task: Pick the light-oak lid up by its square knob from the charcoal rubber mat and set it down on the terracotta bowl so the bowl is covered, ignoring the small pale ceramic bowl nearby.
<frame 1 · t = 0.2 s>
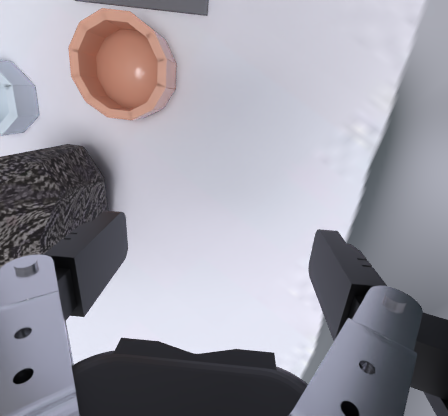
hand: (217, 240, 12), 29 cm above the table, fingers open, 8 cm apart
small bowl: (5, 97, 38), on the table
decorative stone: (87, 211, 44), on the table
bowl: (133, 71, 36), on the table
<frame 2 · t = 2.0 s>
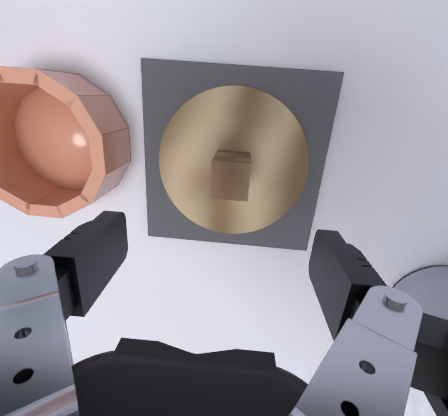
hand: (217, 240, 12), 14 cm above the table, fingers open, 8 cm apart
lid: (232, 165, 25), resting on mat
bowl: (70, 139, 25), on the table
mat: (233, 164, 25), on the table
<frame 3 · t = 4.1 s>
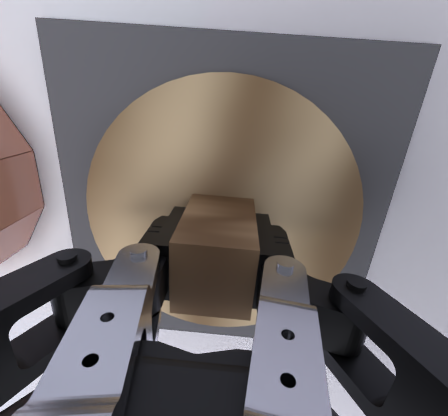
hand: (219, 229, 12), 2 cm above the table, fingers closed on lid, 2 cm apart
lid: (222, 216, 14), resting on mat, touching gripper
mat: (221, 212, 14), on the table
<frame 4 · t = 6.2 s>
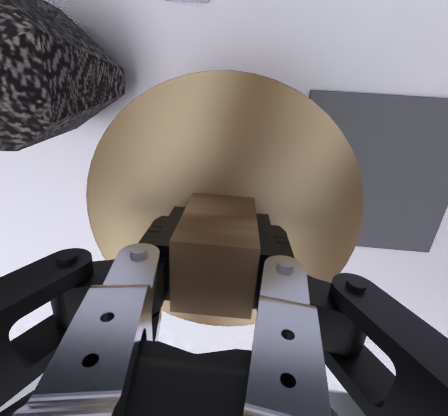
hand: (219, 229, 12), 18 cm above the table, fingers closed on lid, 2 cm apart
lid: (222, 215, 14), point 16 cm above the table, touching gripper
decorative stone: (27, 61, 27), on the table
mat: (373, 177, 29), on the table
when the fingers open (8 cm above the table, at t = 8.6 s): lid drops 2 cm, resting on bowl.
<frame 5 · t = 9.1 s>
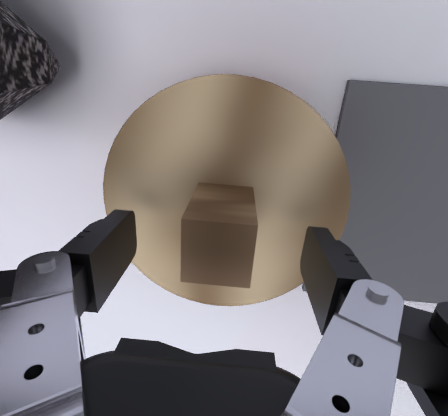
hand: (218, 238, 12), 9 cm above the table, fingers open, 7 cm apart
lid: (224, 204, 15), point 5 cm above the table, touching bowl
mat: (432, 209, 20), on the table
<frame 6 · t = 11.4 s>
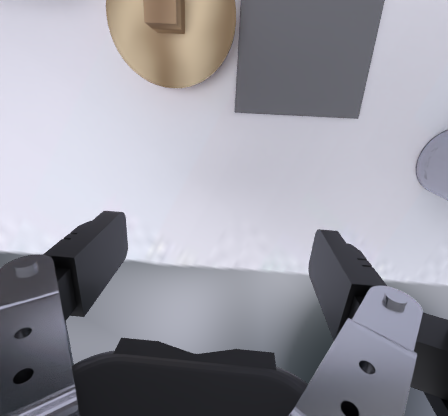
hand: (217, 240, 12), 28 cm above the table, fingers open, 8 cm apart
lid: (172, 19, 28), point 5 cm above the table, touching bowl
mat: (305, 45, 33), on the table
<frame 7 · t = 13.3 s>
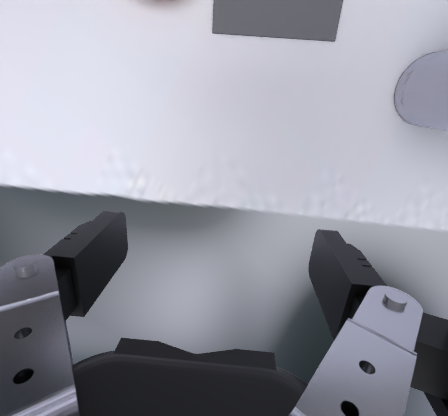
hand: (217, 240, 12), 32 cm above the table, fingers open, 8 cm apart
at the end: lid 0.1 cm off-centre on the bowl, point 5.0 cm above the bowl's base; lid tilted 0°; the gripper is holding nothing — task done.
